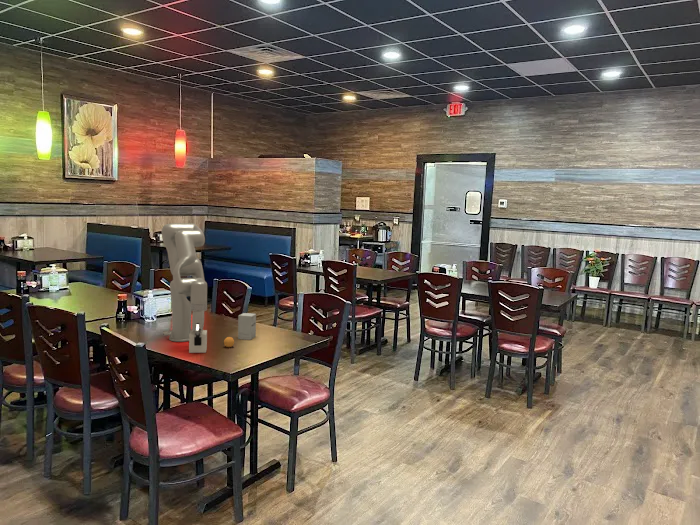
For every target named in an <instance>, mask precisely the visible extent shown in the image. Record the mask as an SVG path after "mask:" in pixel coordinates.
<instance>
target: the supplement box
mask: <svg viewBox="0 0 700 525" xmlns="http://www.w3.org/2000/svg"><path fill="white" fill-rule="evenodd" d="M237 318H238V319H237V322H238V324H237V339H238V340H245V341H246V340H247V341H252V340H253V339H254V338H256V337H257V336H256V334H257V333H256V332H257V314H256V313H250V312H249V313H248V312H243V313H241V314H239V315H238V316H237Z"/></svg>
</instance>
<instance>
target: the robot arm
mask: <svg viewBox="0 0 700 525" xmlns="http://www.w3.org/2000/svg"><path fill="white" fill-rule="evenodd" d="M161 239H162V242H163V245H164V247H165V248H166V252H167V257H168V263H169V268H170V269H169V270H170V273H171V275H172V280H171V281H170V284H169V291H170V295H171V296H170V297H171V330H169V331H167V330H165V331H162V335H163V336H166V337H167V336H169V337H168V340H169V341H171V342H177V343H178V342H179V343H181V342H183V343H184V342H189V334H190V330H192V332H193V331H195V337H194V345H195V346H201V332H202V331H203V330H204V325H205V312H206V311H207V310H208V283H207V281H206V280H205V273H204V269H203V265H202V264H203V263H202V261H201V259H199V257H198V256H197V252H196V248H197V247H199V248H200V247H203V246H204V245H205V243H206V238H205V234H204V232H203V230H202V229H201V228H200V227H199V226H198V225H197V224H195V223H193V222H192V223H191V222H189V223H181V222H178V223H177V222H174V223H166V224H164V225H163V226H162V228H161ZM195 247H196V248H195ZM190 276H191V277H190ZM187 297H190V300H188V298H187ZM199 330H200V331H199ZM199 332H200V333H199Z"/></svg>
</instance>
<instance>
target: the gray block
mask: <svg viewBox="0 0 700 525" xmlns="http://www.w3.org/2000/svg"><path fill="white" fill-rule="evenodd" d="M199 331H200V330H199ZM199 333H200V332H199ZM194 337H195V331H193V332H192V329H191V330H190V334H189V341H188V342H189V343H188V353H189V354H190V353H191V354H194V353H195V354H196V353H197V354H198V353H200V354H202V353H203V354H204V353H205V354H206V353H207V348H208V344H207V343H208V329H203V331H202V332H201V346H195V345H194Z"/></svg>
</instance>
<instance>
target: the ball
mask: <svg viewBox="0 0 700 525" xmlns="http://www.w3.org/2000/svg"><path fill="white" fill-rule="evenodd" d="M223 344H224V346H225V347H226V348H231V347H233V346H234V344H235V340H234V338H233V337H232V336H227V337H226V338H224V340H223Z"/></svg>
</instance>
